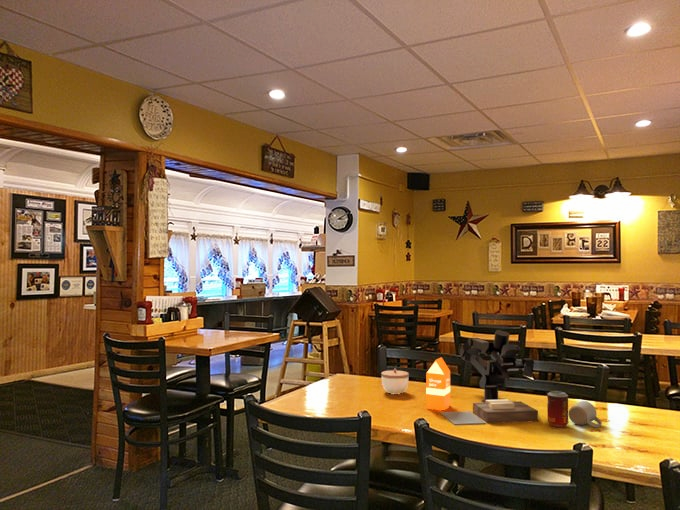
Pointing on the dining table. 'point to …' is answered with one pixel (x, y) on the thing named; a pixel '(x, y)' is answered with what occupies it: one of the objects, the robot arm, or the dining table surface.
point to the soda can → (557, 409)
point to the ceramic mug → (584, 414)
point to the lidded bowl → (395, 381)
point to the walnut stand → (506, 413)
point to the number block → (499, 404)
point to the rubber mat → (462, 418)
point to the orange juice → (438, 386)
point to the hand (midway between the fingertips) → (520, 377)
